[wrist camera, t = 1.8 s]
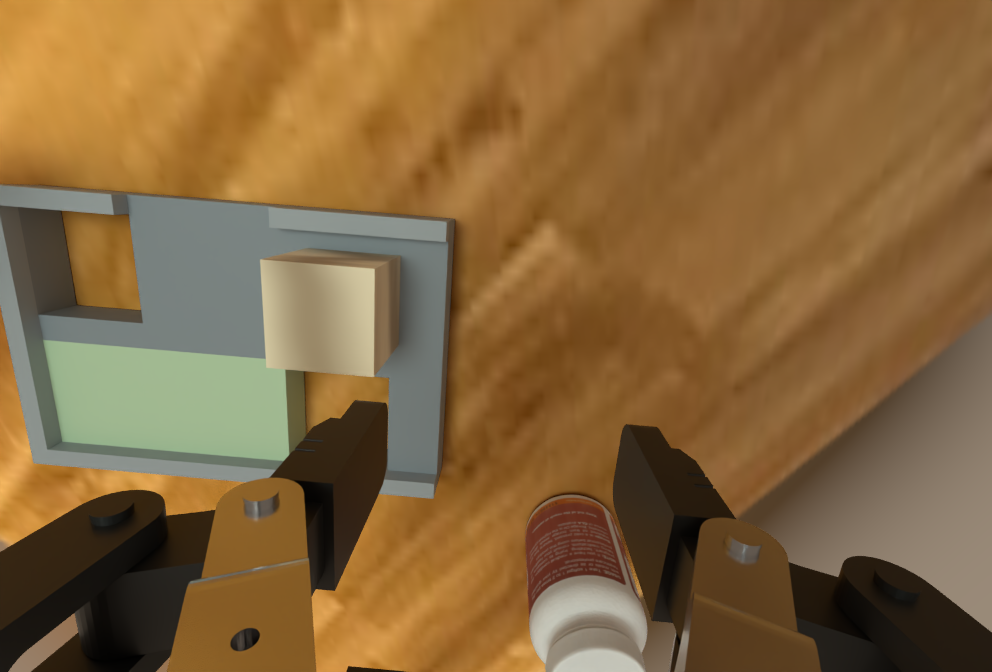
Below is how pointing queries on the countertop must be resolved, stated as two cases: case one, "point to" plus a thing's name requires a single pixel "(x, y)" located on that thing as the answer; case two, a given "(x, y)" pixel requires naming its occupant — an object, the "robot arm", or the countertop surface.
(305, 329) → the maple block
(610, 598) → the pill bottle
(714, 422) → the countertop surface
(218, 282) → the box
